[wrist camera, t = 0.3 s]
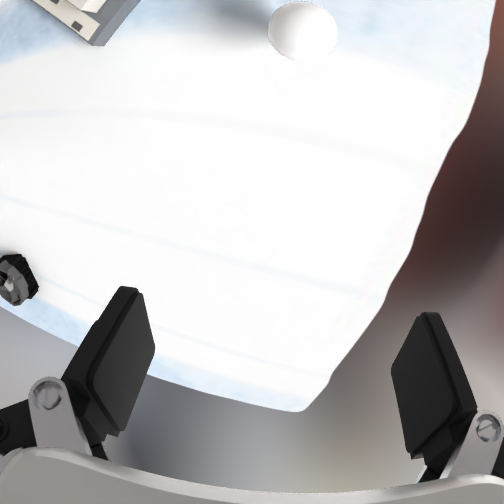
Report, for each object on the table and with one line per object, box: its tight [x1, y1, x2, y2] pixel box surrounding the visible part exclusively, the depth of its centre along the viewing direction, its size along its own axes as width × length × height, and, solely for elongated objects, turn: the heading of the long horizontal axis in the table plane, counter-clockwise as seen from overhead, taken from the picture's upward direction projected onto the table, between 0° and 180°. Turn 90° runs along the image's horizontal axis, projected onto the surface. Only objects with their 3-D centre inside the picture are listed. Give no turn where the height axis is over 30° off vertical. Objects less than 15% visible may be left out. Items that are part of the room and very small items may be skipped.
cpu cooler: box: [0, 254, 39, 306], centre depth 51 cm, size 10×6×10 cm
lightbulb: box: [268, 1, 337, 62], centre depth 25 cm, size 6×6×11 cm
